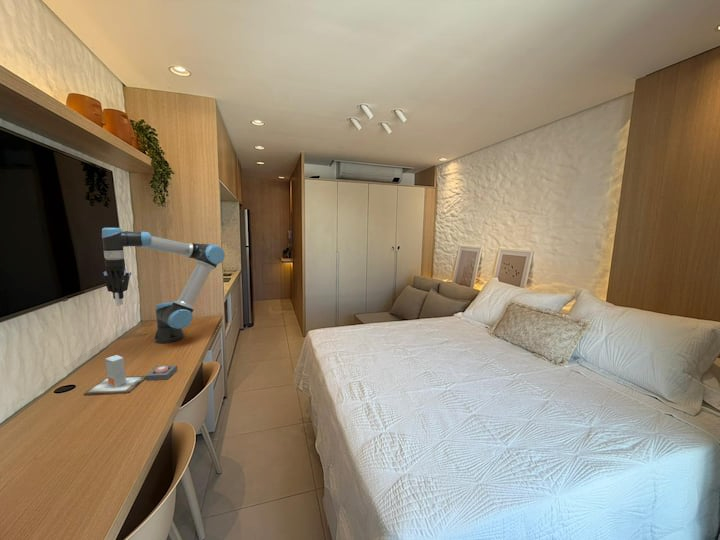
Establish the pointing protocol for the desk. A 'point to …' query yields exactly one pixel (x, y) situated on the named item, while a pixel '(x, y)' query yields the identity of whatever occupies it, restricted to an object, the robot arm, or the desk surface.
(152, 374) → the button base
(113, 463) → the desk surface
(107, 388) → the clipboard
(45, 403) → the desk surface
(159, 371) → the button
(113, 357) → the skincare box
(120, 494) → the desk surface
